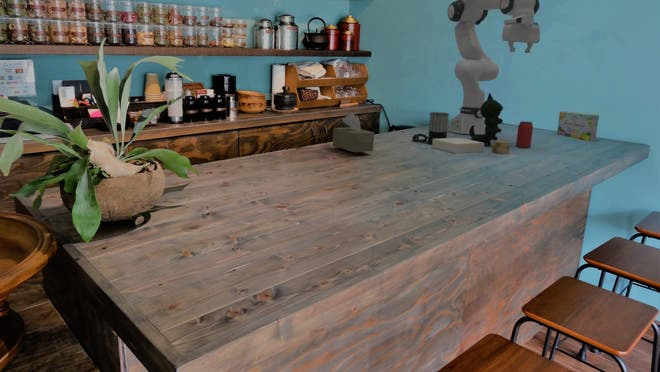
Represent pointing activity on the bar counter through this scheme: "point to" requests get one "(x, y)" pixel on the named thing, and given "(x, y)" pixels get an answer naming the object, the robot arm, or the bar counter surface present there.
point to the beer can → (524, 134)
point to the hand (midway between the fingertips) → (519, 52)
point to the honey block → (500, 147)
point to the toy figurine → (489, 121)
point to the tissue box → (353, 136)
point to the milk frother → (435, 127)
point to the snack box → (578, 125)
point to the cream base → (458, 145)
